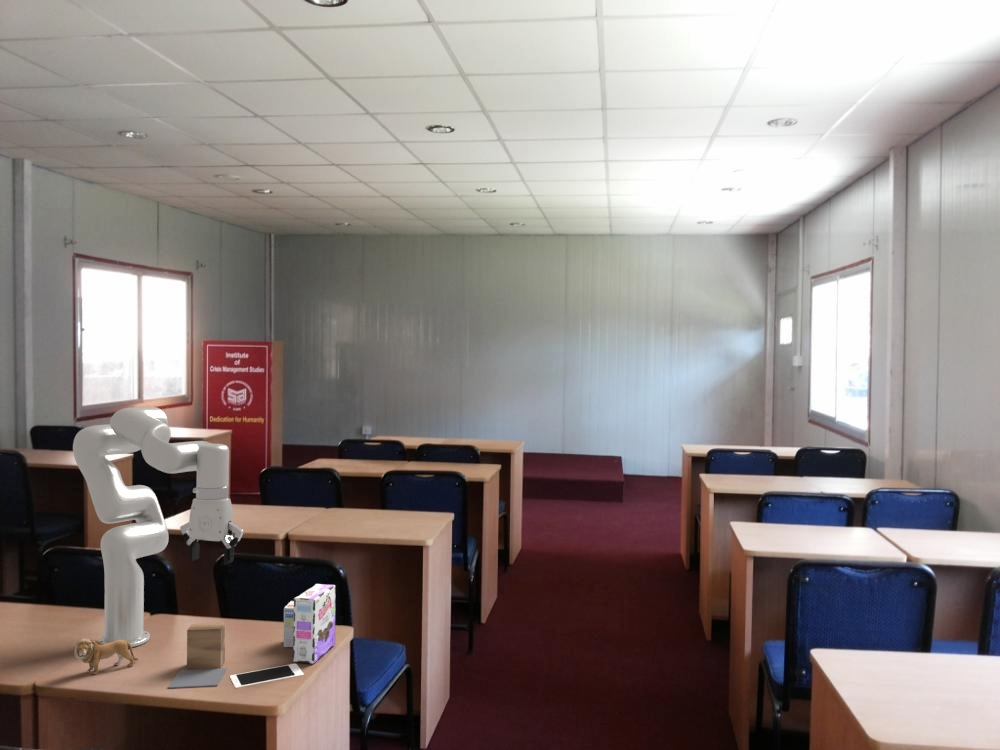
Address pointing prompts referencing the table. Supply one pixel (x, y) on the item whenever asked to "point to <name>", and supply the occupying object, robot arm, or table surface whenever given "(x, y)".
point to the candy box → (314, 623)
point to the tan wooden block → (205, 646)
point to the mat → (197, 678)
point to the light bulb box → (289, 624)
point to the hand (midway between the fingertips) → (211, 561)
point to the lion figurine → (102, 652)
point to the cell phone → (265, 675)
